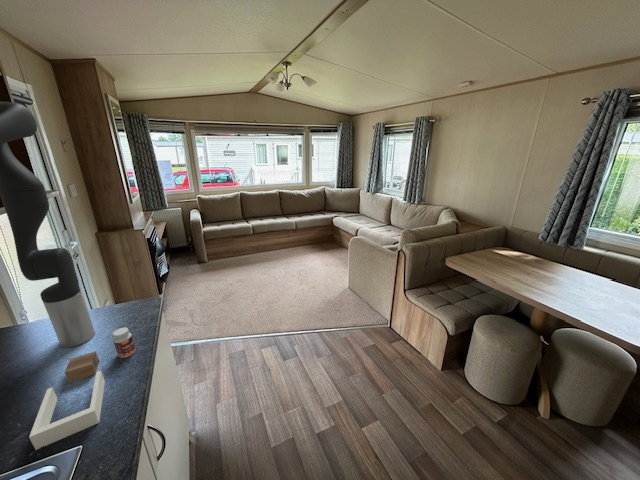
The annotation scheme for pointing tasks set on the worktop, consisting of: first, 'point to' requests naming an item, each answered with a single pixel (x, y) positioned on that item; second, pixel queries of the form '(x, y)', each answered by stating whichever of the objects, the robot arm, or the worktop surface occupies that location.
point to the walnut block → (82, 367)
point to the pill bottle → (123, 342)
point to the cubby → (67, 426)
